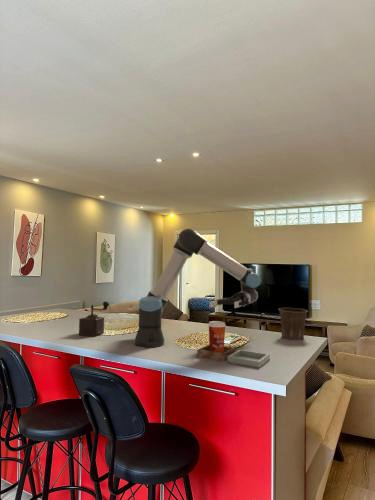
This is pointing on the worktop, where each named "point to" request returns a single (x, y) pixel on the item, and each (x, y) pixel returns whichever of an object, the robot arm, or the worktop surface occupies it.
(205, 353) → the walnut tray
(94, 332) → the pepper mill
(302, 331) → the plant pot
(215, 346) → the coffee cup
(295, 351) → the worktop surface
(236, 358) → the green square tray
